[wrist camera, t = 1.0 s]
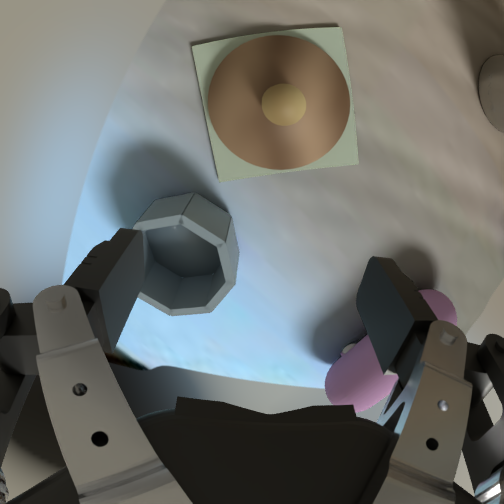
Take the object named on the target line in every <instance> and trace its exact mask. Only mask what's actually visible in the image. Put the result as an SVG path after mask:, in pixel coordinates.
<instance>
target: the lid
mask: <svg viewBox="0 0 504 504" xmlns="http://www.w3.org/2000/svg"><path fill="white" fill-rule="evenodd" d="M208 111H209V116H210V120H211V123H212V125H213V128H214V130H215V132H216V134H217V135H218V137H219V139H220V140H221V141H222V142H223V144H224V145H225V146H226V147H227V148H228V149H229V150H230V151H231V152H232V153H234V154H235V155H236V156H237V157H239V158H241V159H242V160H244V161H246V162H248V163H250V164H252V165H255V166H258V167H262V168H267V169H273V170H287V169H294V168H299V167H302V166H305V165H308V164H310V163H312V162H315V161H316V160H318V159H320V158H321V157H323V156H324V155H325V154H326V153H328V152H329V151H330V150H331V149H332V148H333V147H334V146H335V145H336V143H337V142H338V140H339V139H340V138H341V136H342V134H343V132H344V130H345V128H346V125H347V122H348V118H349V114H350V94H349V89H348V85H347V83H346V80H345V77H344V75H343V73H342V71H341V70H340V68H339V67H338V65H337V64H336V63H335V61H334V60H333V59H332V58H331V57H330V56H329V55H328V54H327V53H326V52H324V51H323V50H322V49H320V48H319V47H317V46H316V45H314V44H312V43H310V42H308V41H306V40H303V39H300V38H297V37H292V36H285V35H270V36H263V37H259V38H255V39H252V40H250V41H247V42H245V43H243V44H241V45H240V46H238V47H237V48H235V49H234V50H233V51H231V52H230V53H229V54H228V55H227V56H226V57H225V58H224V59H223V60H222V62H221V63H220V64H219V66H218V67H217V69H216V71H215V73H214V75H213V77H212V79H211V83H210V86H209V91H208Z"/></svg>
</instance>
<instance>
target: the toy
mask: <svg viewBox="0 0 504 504" xmlns="http://www.w3.org/2000/svg"><path fill="white" fill-rule="evenodd" d="M418 292H420V293H421V294H422V296H423V299H425V300H426V302H427V303H428V305H429V306H430V308H431V309H432V311H433V312H434V314H435V315H436V317H437V318H438V320H444V321H448V322H450V323H452V324H454V325H455V326H457V315H456V311H455V308H454V306H453V304H452V302H451V301H450V299H449V298H448V297H447V296H445V295H444V294H443V293H441V292H439V291H436V290H432V289H424V290H419V291H418ZM398 378H399V377H398V375H397V374H396V375H383V372H382V369H381V367H380V364H379V361H378V359H377V356H376V354H375V351H374V348H373V346H372V343H371V341H370V338H369V336H368V334H367V335H366V336H365V337H364V338H363V339H362V340H361V341H359V342H358V343H357V344H355V343H353V344H349V345H347V346H346V347H345V348H344V349H343V351H342V352H341V358H339V359H338V360H337V361H336V362H335V363H334V364H333V365H332V366H331V368H330V369H329V371H328V373H327V376H326V379H325V391H326V394H327V397H328V399H329V400H330V402H331V403H332V404H333V405H352V404H353V405H354V409H355V412H361V411H364V410H366V409H368V408H370V407H371V406H373V405H374V404H376V403H377V402H379V401H380V400H381V399H383V398H384V397H385V396H387V395H388V394H390V393H391V390H392V388H393V386H394V384H395V382H396V381H397V379H398Z"/></svg>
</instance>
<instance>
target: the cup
mask: <svg viewBox="0 0 504 504" xmlns="http://www.w3.org/2000/svg"><path fill="white" fill-rule="evenodd" d="M133 229H135V230H141V231H142V233H143V247H144V266H145V275H144V282H143V286H142V288H141V290H140V293H139V295H138V298H140V299H142V300H143V301H145V302H147V303H148V304H150V305H152V306H154V307H155V308H157V309H159V310H161V311H162V312H164V313H166V314H168V315H169V316H170V315H171V316H178V315H191V314H202V313H210V312H212V311H213V310H214V309H215V308H216V306H217V305H218V304H219V303H220V302H221V301H222V299H223V298H224V297H225V296H226V295H227V294H228V292H229V291H230V290H231V289H232V288H233V287H234V285H235V283H236V275H237V268H238V260H239V248H238V243H237V239H236V234H235V229H234V225H233V220H232V216H231V215H230V214H228V213H227V212H225V211H224V210H222V209H221V208H219V207H217V206H216V205H214V204H213V203H211V202H210V201H208V200H207V199H205V198H204V197H202V196H200V195H199V194H197V193H195V192H193V193H188V194H182V195H177V196H172V197H167V198H162V199H157V200H155V201H154V202H153V203H152V204H151V205H150V207H149V208H148V209H147V210H146V211H145V212H144V214H143V215H142V216H141V217H140V218H139V220H138V221H137V222H136V223H135V225H134V227H133ZM155 261H156V262H155ZM182 277H183V278H182Z"/></svg>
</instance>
